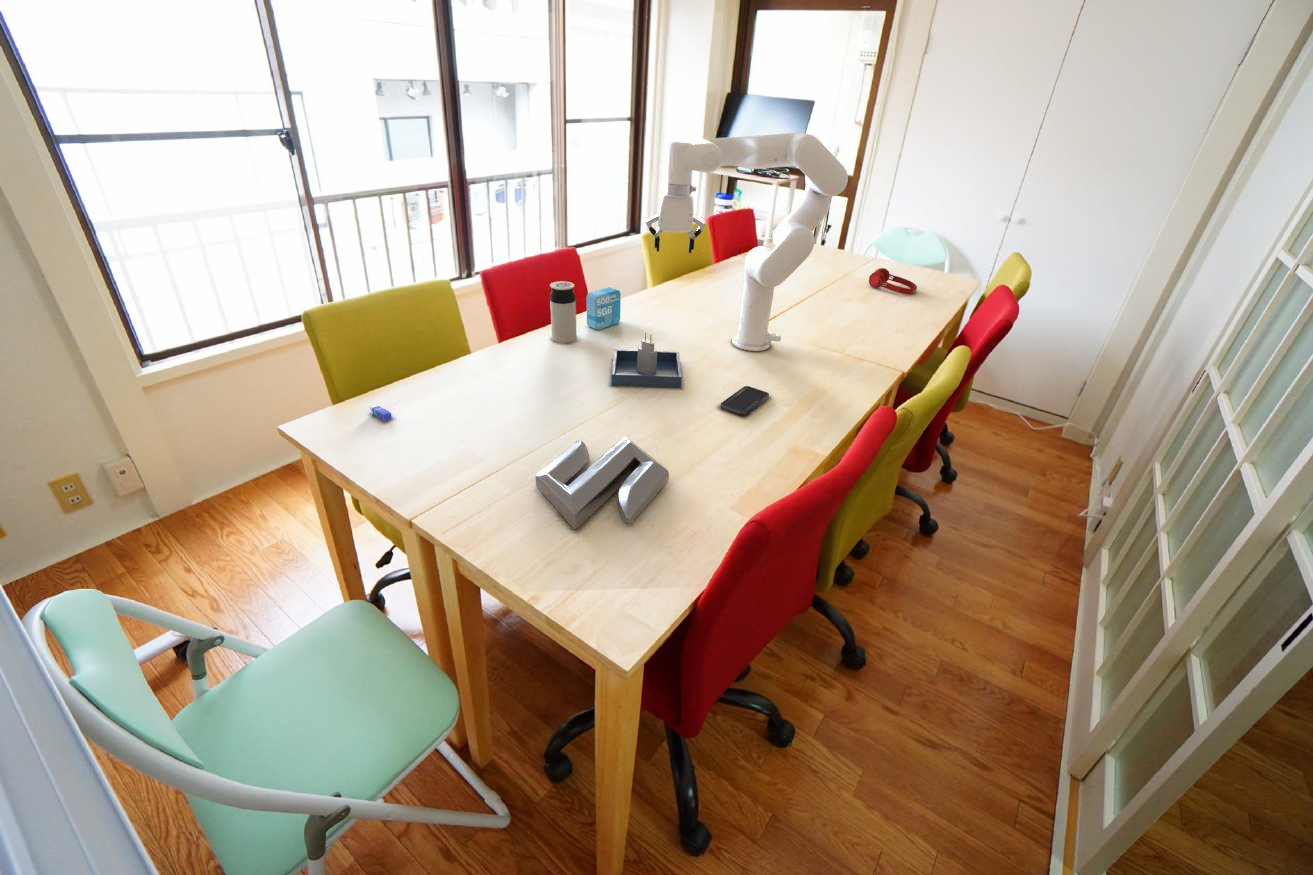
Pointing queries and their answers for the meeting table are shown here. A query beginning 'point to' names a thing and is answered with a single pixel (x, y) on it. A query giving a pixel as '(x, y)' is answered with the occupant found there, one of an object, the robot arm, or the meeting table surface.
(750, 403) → the phone
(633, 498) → the emblem
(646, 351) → the power adapter
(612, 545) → the meeting table surface
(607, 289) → the data package
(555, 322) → the travel mug
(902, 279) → the headphones
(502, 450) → the meeting table surface
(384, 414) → the eraser
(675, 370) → the tray
